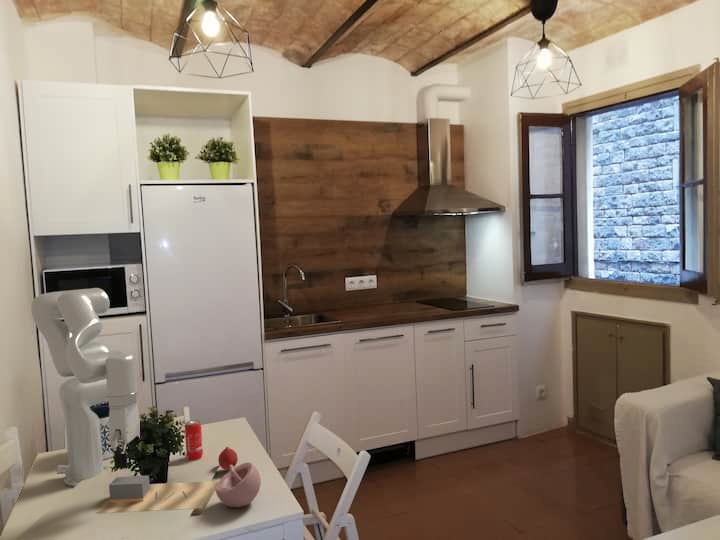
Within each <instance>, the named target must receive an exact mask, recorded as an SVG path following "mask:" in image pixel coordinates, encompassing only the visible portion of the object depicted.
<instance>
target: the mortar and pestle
mask: <svg viewBox="0 0 720 540" xmlns="http://www.w3.org/2000/svg"><path fill="white" fill-rule="evenodd" d="M229 468H230V471H227V473H226V474H224V475H223V476H222V477H221V478H220V480H219V481H217V485H216V487H215V494H216V495H217V498H218V499H219V501H220V502H222V504H224V505H226V506H227V507H231V508H243V507H245V506H248V504H250V503H252V502H253V501H254V500H255V498H257V496H258V493H259V491H260V488H261V474H260V472H259V470H258V468H257V467H256V466H255V465H254V464H253V463H252V462H250V461H249V462H244V463H241V464H239V465H237V466H234V468H233V465H229Z"/></svg>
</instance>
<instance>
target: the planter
mask: <svg viewBox="0 0 720 540" xmlns="http://www.w3.org/2000/svg"><path fill="white" fill-rule="evenodd" d="M90 409H91V410H92V411H93V412H94V413H95V414H96V415H97V416H98V418H99V420H100V430H101V443H102V456H103V461H105V460H108V459H112V458H114V457H113V451H112V448H109V447H108V445H109V444H110V439H109V411H110V408H109V405H100V406H99V405H98V406H95V407H93V406H92V407H90Z"/></svg>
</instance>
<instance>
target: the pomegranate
mask: <svg viewBox="0 0 720 540" xmlns="http://www.w3.org/2000/svg"><path fill="white" fill-rule="evenodd" d="M217 460H218V465H219V467H220V468H221V469H223V470H225V471H226V472H229V471H230V468H229V465H233V468H235V467H236V465H237V464H238V461H239V459H238V455H237V452H236V451H235V450H233V449H232V448H230V446H225V448H224V449H223V450H222V451H221V453H220V454H219V455H218V459H217Z"/></svg>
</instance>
